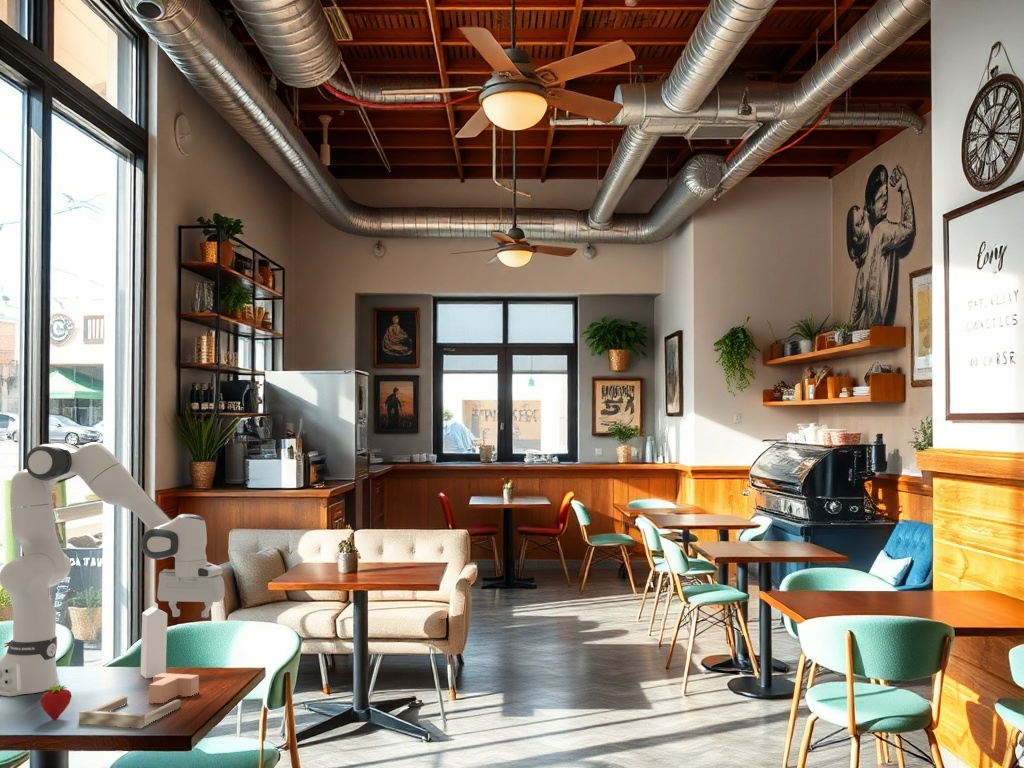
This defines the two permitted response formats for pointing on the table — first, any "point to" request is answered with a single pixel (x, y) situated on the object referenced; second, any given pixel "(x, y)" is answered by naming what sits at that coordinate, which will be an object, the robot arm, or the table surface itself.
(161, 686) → the T block
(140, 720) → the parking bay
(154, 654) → the milk
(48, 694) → the strawberry
